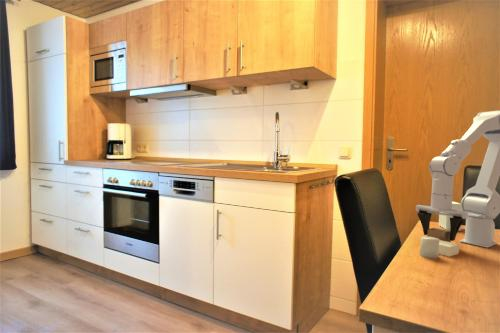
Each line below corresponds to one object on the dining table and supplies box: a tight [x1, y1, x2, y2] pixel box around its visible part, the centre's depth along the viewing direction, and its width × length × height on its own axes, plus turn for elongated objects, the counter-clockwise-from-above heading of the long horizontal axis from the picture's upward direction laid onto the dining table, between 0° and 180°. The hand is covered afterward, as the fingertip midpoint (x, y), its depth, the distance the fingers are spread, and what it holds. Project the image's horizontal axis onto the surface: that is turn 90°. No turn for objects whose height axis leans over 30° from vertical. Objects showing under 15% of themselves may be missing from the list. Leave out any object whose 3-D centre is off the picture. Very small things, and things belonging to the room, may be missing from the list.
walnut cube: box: [426, 227, 452, 242], centre depth 103 cm, size 5×5×5 cm
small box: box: [438, 201, 463, 232], centre depth 130 cm, size 8×6×10 cm
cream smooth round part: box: [419, 235, 440, 260], centre depth 91 cm, size 4×4×5 cm
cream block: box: [439, 240, 460, 257], centre depth 95 cm, size 6×6×3 cm
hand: (438, 237), depth 103 cm, fingers open, 7 cm apart
